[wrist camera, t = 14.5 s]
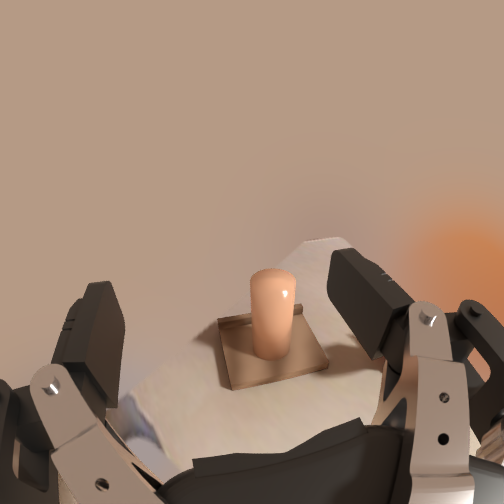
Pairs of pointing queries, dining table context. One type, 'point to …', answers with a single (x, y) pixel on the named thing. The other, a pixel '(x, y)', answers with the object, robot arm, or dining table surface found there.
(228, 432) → the dining table surface
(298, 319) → the walnut board
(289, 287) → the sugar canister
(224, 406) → the dining table surface
